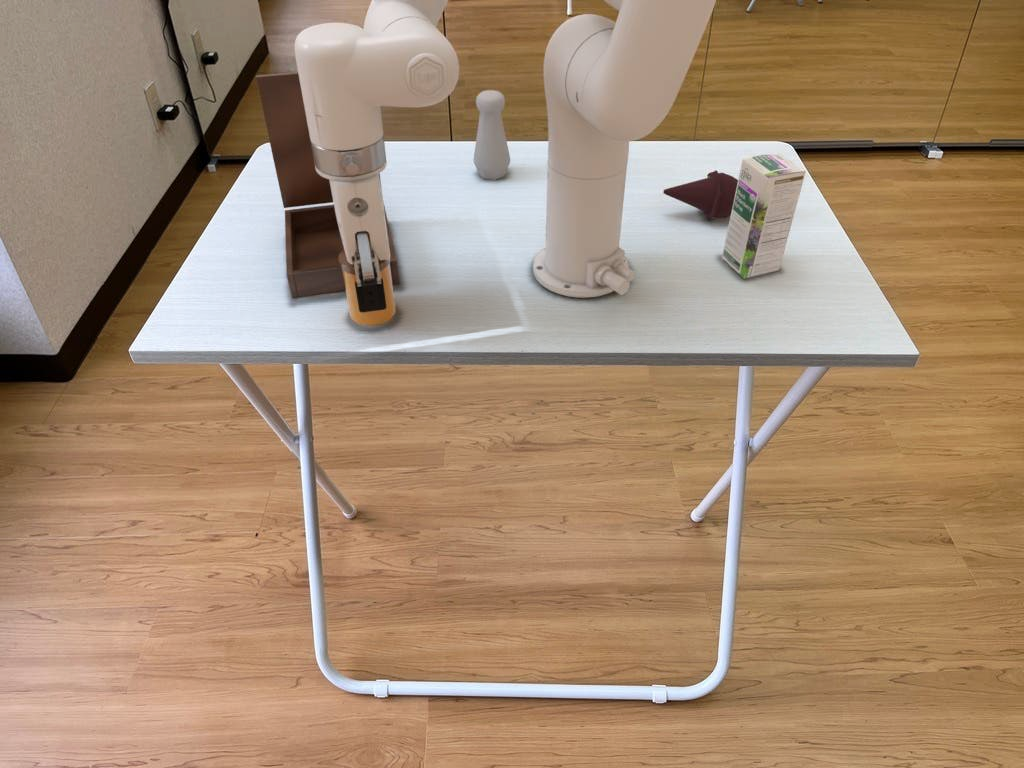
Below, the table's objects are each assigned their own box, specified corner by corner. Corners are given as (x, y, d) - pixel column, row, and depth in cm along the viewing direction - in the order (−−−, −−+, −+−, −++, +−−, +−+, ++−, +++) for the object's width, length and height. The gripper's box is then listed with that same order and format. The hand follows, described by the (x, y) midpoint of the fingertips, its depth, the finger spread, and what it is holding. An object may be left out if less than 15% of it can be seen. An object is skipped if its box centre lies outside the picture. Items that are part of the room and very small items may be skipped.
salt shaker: (506, 183, 122) (505, 102, 113) (470, 180, 123) (466, 99, 114) (513, 167, 126) (512, 87, 118) (479, 164, 127) (476, 84, 119)
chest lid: (365, 67, 99) (365, 65, 99) (255, 77, 96) (255, 75, 97) (382, 196, 109) (382, 194, 110) (283, 208, 107) (283, 206, 107)
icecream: (671, 190, 107) (778, 199, 107) (667, 154, 111) (770, 163, 111) (659, 227, 112) (761, 235, 113) (656, 191, 116) (754, 199, 117)
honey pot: (400, 327, 94) (391, 256, 88) (351, 334, 93) (338, 262, 87) (394, 300, 99) (385, 230, 92) (347, 306, 98) (335, 236, 91)
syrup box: (719, 258, 105) (739, 157, 96) (756, 249, 107) (779, 149, 97) (743, 280, 101) (766, 177, 92) (781, 271, 103) (808, 169, 93)
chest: (400, 288, 100) (396, 260, 98) (293, 303, 98) (286, 274, 95) (386, 225, 112) (382, 198, 110) (290, 237, 110) (284, 210, 107)
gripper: (394, 186, 76) (410, 332, 88) (377, 117, 89) (393, 253, 101) (316, 194, 75) (344, 341, 87) (310, 123, 87) (334, 261, 99)
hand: (370, 293), depth 94 cm, fingers closed on honey pot, 5 cm apart
